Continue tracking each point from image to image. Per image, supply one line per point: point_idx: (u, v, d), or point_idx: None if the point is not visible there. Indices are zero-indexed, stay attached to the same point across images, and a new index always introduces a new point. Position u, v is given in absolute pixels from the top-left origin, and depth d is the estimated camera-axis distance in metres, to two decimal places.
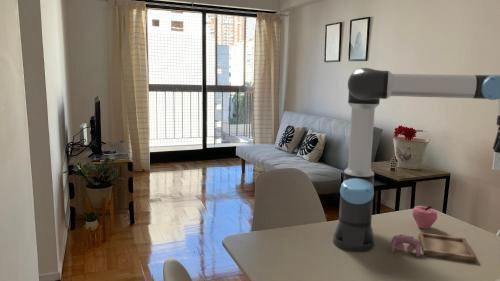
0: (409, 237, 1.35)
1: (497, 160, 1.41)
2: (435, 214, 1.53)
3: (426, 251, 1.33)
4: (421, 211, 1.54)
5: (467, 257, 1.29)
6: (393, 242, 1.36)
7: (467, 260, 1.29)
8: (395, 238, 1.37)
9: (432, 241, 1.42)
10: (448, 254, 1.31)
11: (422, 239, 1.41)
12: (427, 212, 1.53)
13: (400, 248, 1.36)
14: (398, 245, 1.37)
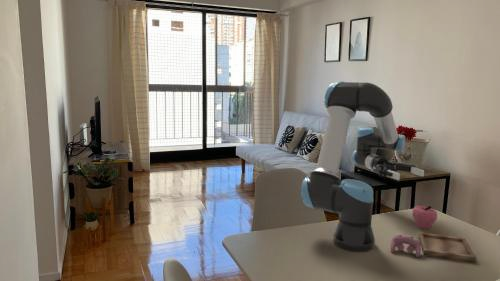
0: (409, 238, 1.35)
1: None
2: (435, 214, 1.53)
3: (426, 251, 1.33)
4: (421, 211, 1.54)
5: (467, 257, 1.29)
6: (393, 243, 1.36)
7: (467, 260, 1.29)
8: (395, 239, 1.36)
9: (432, 241, 1.42)
10: (448, 254, 1.31)
11: (422, 239, 1.41)
12: (427, 212, 1.53)
13: (400, 249, 1.36)
14: (398, 246, 1.36)
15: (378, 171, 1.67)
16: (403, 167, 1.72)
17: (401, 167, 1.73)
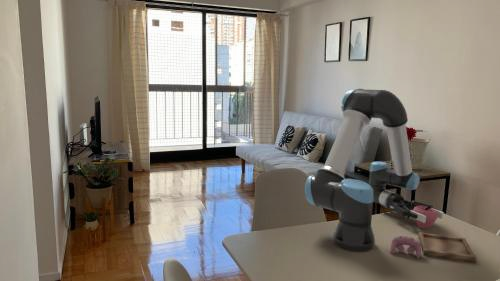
0: (409, 239, 1.34)
1: None
2: (435, 214, 1.53)
3: (426, 251, 1.33)
4: (421, 211, 1.54)
5: (467, 257, 1.29)
6: (393, 244, 1.35)
7: (467, 260, 1.29)
8: (395, 240, 1.35)
9: (432, 241, 1.42)
10: (448, 254, 1.31)
11: (422, 239, 1.41)
12: (427, 212, 1.53)
13: (400, 250, 1.35)
14: (398, 247, 1.35)
15: (401, 212, 1.58)
16: None
17: None
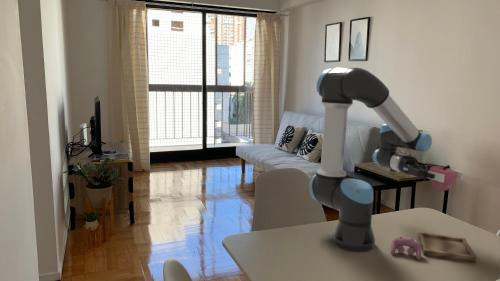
0: (409, 240, 1.33)
1: None
2: (454, 174, 1.39)
3: (426, 251, 1.33)
4: (438, 170, 1.39)
5: (467, 257, 1.29)
6: (393, 245, 1.34)
7: (467, 260, 1.29)
8: (395, 241, 1.34)
9: (432, 241, 1.42)
10: (448, 254, 1.31)
11: (422, 239, 1.41)
12: (445, 171, 1.38)
13: (400, 251, 1.34)
14: (398, 248, 1.35)
15: (415, 172, 1.43)
16: None
17: None
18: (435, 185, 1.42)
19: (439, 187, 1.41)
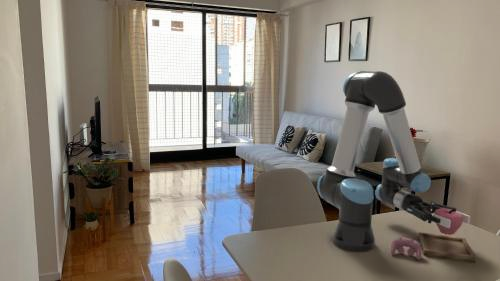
0: (409, 240, 1.32)
1: None
2: (461, 218, 1.33)
3: (426, 251, 1.33)
4: (444, 215, 1.34)
5: (467, 257, 1.29)
6: (393, 245, 1.33)
7: (467, 260, 1.29)
8: (395, 241, 1.34)
9: (432, 241, 1.42)
10: (448, 254, 1.31)
11: (422, 239, 1.41)
12: (451, 216, 1.33)
13: (400, 251, 1.34)
14: (398, 248, 1.34)
15: (420, 215, 1.37)
16: None
17: None
18: (441, 229, 1.36)
19: (445, 231, 1.35)
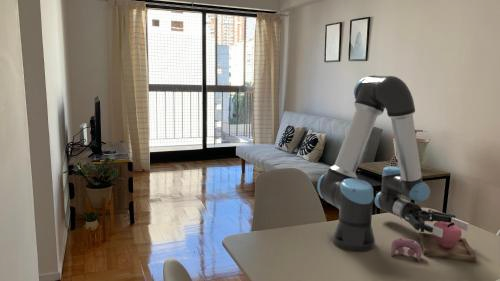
0: (410, 241, 1.32)
1: None
2: (459, 232, 1.34)
3: (426, 251, 1.33)
4: (443, 228, 1.34)
5: (467, 257, 1.29)
6: (393, 246, 1.33)
7: (467, 260, 1.29)
8: (395, 242, 1.33)
9: (432, 241, 1.42)
10: (448, 254, 1.31)
11: (422, 239, 1.41)
12: (450, 230, 1.34)
13: (400, 252, 1.33)
14: (398, 249, 1.34)
15: (414, 224, 1.39)
16: (441, 217, 1.45)
17: (438, 217, 1.45)
18: (439, 242, 1.37)
19: (443, 245, 1.36)
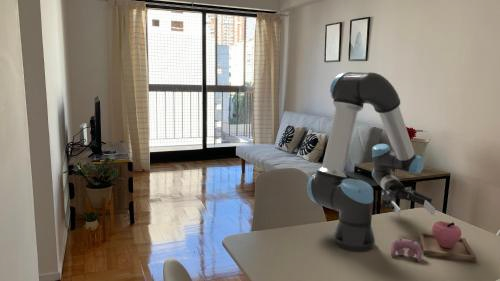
0: (410, 242, 1.31)
1: None
2: (459, 232, 1.34)
3: (426, 251, 1.33)
4: (443, 228, 1.34)
5: (467, 257, 1.29)
6: (393, 247, 1.32)
7: (467, 260, 1.29)
8: (395, 243, 1.33)
9: (432, 241, 1.42)
10: (448, 254, 1.31)
11: (422, 239, 1.41)
12: (450, 229, 1.34)
13: (400, 253, 1.33)
14: (398, 250, 1.33)
15: None
16: (417, 198, 1.53)
17: (414, 198, 1.54)
18: (439, 242, 1.37)
19: (443, 245, 1.36)
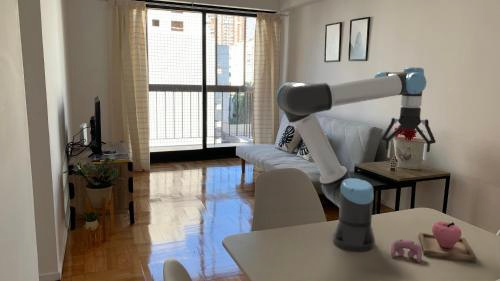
0: (410, 242, 1.31)
1: None
2: (459, 232, 1.34)
3: (426, 251, 1.33)
4: (443, 228, 1.34)
5: (467, 257, 1.29)
6: (393, 247, 1.32)
7: (467, 260, 1.29)
8: (395, 243, 1.32)
9: (432, 241, 1.42)
10: (448, 254, 1.31)
11: (422, 239, 1.41)
12: (450, 229, 1.34)
13: (400, 254, 1.32)
14: (398, 250, 1.33)
15: (383, 134, 1.56)
16: None
17: (420, 134, 1.52)
18: (439, 242, 1.37)
19: (443, 245, 1.36)
